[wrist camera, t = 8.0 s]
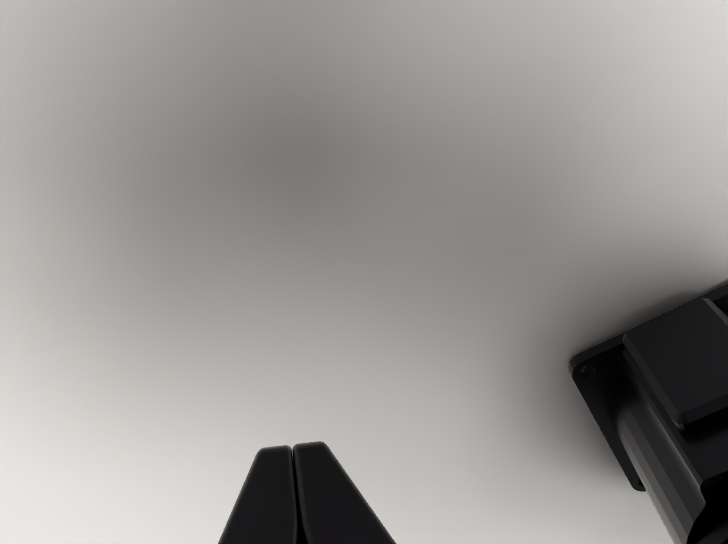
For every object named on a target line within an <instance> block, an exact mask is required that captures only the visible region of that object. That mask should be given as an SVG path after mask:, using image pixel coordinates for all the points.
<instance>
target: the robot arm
mask: <svg viewBox="0 0 728 544" xmlns="http://www.w3.org/2000/svg"><path fill="white" fill-rule="evenodd" d="M587 366H591V368H590V369H589V370H587V371H584V372H581V369H583V368H584V367H587ZM568 368H569V372H570V374H571V376H572V378H573V380H574V382H575V384H576V386H577V387H578V389H579V391H580V393H581V395H582V396H583V398H584V400H585V402H586V404H587V406H588V407H589V409H590V411H591V413H592V415H593V416H594V418H595V420H596V422H597V424H598V426H599V427H600V429H601V431H602V433H603V435H604V436H605V438H606V440H607V442H608V444H609V446H610V447H611V449H612V451H613V453H614V455H615V456H616V458H617V460H618V462H619V464H620V466H621V467H622V469H623V471H624V473H625V475H626V476H627V478H628V480H629V482H630V484H631V486H632V487H633V488H634V489H635V490H637V491H647V492H648V494H649V496H650V498H651V500H652V502H653V504H654V506H655V508H656V510H657V512H658V513H659V515H660V517H661V519H662V521H663V523H664V525H665V527H666V529H667V531H668V533H669V535H670V536H671V538H672V540H673V542H674V544H728V284H727V285H725V286H723V287H721V288H719V289H717V290H715V291H712V292H710V293H708V294H706V295H704V296H702V297H700V298H697V299H695V300H693V301H691V302H689V303H687V304H685V305H682V306H680V307H678V308H676V309H674V310H672V311H670V312H668V313H665V314H663V315H661V316H659V317H657V318H655V319H653V320H650V321H648V322H646V323H644V324H642V325H640V326H638V327H635V328H633V329H631V330H629V331H627V332H625V333H623V334H620V335H618V336H616V337H614V338H612V339H610V340H608V341H606V342H603V343H601V344H599V345H597V346H595V347H593V348H591V349H588V350H586V351H584V352H582V353H580V354H578V355H576V356H575V357H573V358H572V360H571V361H570V362H569V366H568ZM292 453H293V456H292ZM218 544H396V543H395V541H394V540H393V539H392V537H391V536H390V534H389V533H388V531H387V530H386V529H385V527H384V526H383V524H382V523H381V521H380V520H379V519H378V517H377V516H376V514H375V513H374V511H373V510H372V509H371V507H370V506H369V504H368V503H367V502H366V500H365V499H364V497H363V496H362V494H361V493H360V492H359V490H358V489H357V487H356V486H355V484H354V483H353V482H352V480H351V479H350V477H349V476H348V474H347V473H346V472H345V470H344V469H343V467H342V466H341V464H340V463H339V462H338V460H337V459H336V457H335V456H334V455H333V453H332V452H331V450H330V449H329V447H328V446H327V445H326V444H325V443H324V442H310V443H301V444H296V445H295V446H294V447H293V450H292V449H291V448H290V447H289V446H287V445H284V446H275V447H267V448H262V449H260V450H259V451H258V453H257V454H256V456H255V459H254V461H253V463H252V466H251V468H250V470H249V473H248V475H247V477H246V480H245V482H244V484H243V487H242V489H241V491H240V494H239V496H238V498H237V501H236V503H235V505H234V508H233V510H232V512H231V515H230V517H229V519H228V521H227V524H226V526H225V528H224V531H223V533H222V535H221V538H220V540H219V542H218Z"/></svg>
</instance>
